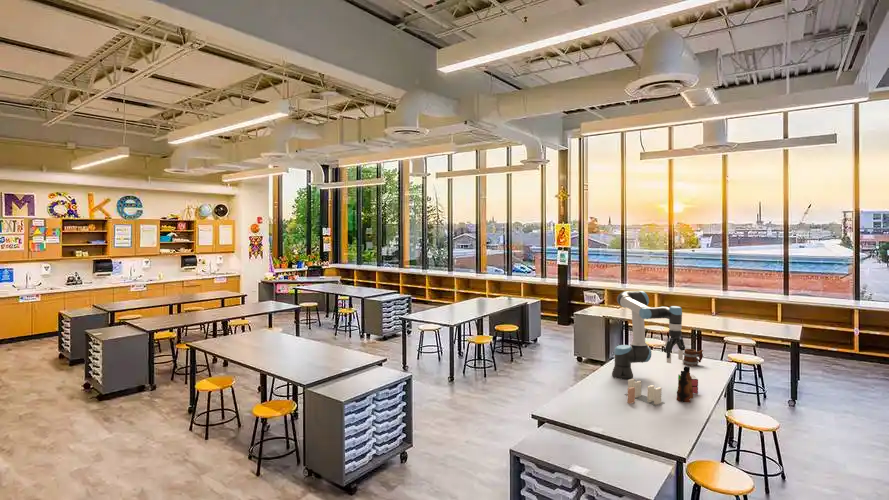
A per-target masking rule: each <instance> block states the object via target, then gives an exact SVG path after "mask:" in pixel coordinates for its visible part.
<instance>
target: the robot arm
mask: <svg viewBox="0 0 889 500" xmlns="http://www.w3.org/2000/svg"><path fill="white" fill-rule="evenodd" d="M616 301H617V304H618V305H619V306H620V307H622V308H625V309H629V310H630V311H631V320H632V321H631V324H632V343H631V344H630V345H629V344H619V345H617V346H615V347H614V367H613V368H612V372H611V376H612V378H615V379H618V380H625V381H628V380H630V379H634V373H633V370H632V364H634V363H642V364H643V363H647V362H649V361H650V360H651V358H652V350H651V347H650V346H648V344H647V342H646V332H645V331H646V330H645V320H653V319H657V320H658V319H668V321H669V322H668V329H669V330H668V335H669V336H670V337H667V341H666V344H665V349H664V353H666V363H667V364H672V350H673V348H674V346H675V345H676V346H677V347H678V354H677V355H678V357H677V359H678V360H679V361H682V360H683V359H684V355H683V353H684V351H685V349H686V346H685V342H684V339H683V338H684V336H683V335H682V333H683V332H682V328H683V327H682V321H683V308H682V307H681V306H677V305H671V306H669V307H668V306H659V307H657V306H656V307H650V306H648V305H649V303H650V298H649V296H648V294H647V293H646V292H645V291H643V290H628V291H627V290H626V291H625V290H624V291H622V292H620V293H619V294H618V295H617V297H616Z"/></svg>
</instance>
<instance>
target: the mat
mask: <svg viewBox="0 0 889 500" xmlns="http://www.w3.org/2000/svg"><path fill="white" fill-rule="evenodd" d="M624 396H626V397H628V393H625V394H624ZM635 400H637V401H640V402H642V403H645V404H648V405H651V406H654V407H657V406H661V405H665V402H664V401H661V404H657V405H656V404H654V401H652V402H647V395H643V394H641V396H640V397H635Z"/></svg>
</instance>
